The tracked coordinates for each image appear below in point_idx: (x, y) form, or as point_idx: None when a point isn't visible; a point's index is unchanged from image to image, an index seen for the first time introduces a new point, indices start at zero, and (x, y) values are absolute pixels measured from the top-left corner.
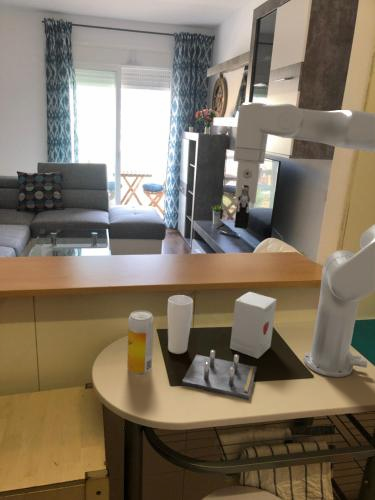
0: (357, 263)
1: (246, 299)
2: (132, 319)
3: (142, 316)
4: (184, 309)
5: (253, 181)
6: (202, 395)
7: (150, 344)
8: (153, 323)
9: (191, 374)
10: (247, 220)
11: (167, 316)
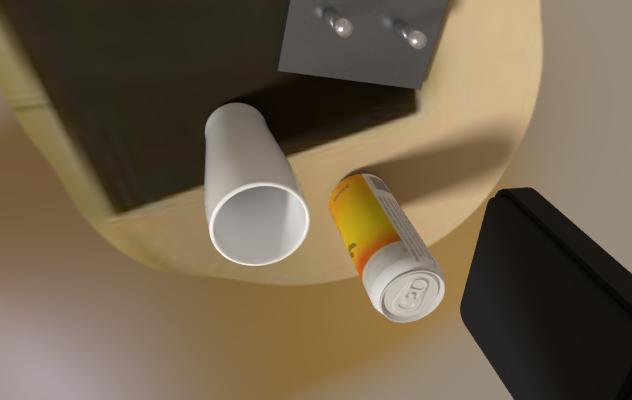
0: None
1: None
2: (432, 306)
3: (419, 291)
4: (303, 192)
5: None
6: (454, 26)
7: (401, 216)
8: (405, 250)
9: (388, 70)
10: (593, 257)
11: (265, 223)
